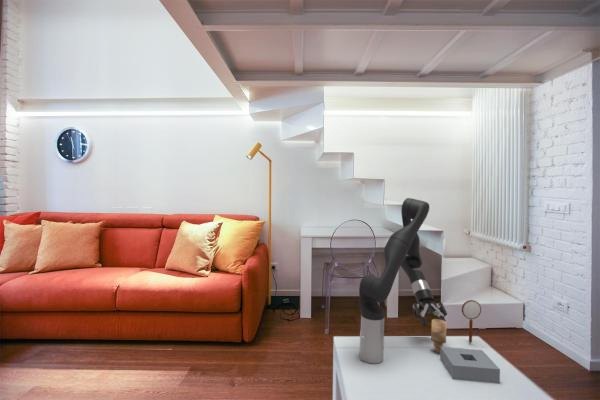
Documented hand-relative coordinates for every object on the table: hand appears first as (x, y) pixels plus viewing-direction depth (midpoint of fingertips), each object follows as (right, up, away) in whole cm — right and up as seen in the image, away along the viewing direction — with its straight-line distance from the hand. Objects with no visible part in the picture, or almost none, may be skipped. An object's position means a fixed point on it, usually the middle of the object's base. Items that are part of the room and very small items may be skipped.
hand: (435, 326), depth 136 cm
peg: (0, -10, -2) cm, 10 cm away
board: (+5, -10, -16) cm, 20 cm away
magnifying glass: (+18, -10, +6) cm, 22 cm away
